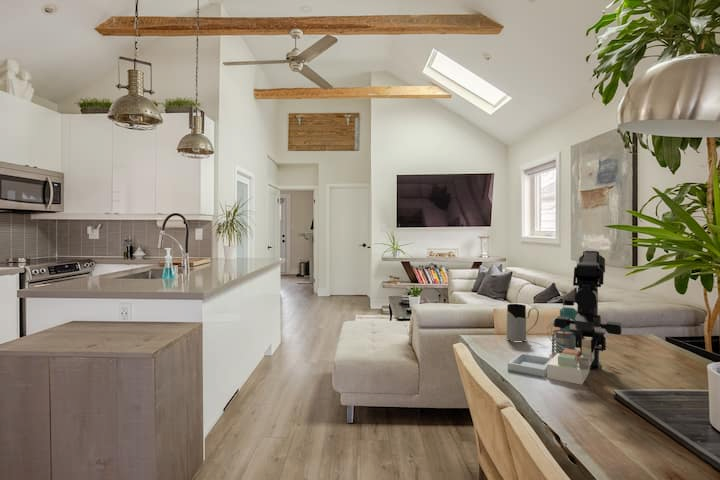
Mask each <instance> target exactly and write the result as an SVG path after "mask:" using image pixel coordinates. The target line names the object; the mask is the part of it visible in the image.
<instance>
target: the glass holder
mask: <svg viewBox="0 0 720 480" xmlns="http://www.w3.org/2000/svg"><path fill="white" fill-rule="evenodd" d="M506 307H507V311H506V337H505V339H506V338H507V339H508V340H512V341H525V340H527V341H528V339H527V334H528V332H530V330H532V329H533V328H534V327H535V326H536V325H537V323H538V321H539V314H540V313H539V310H538V309H537V308H536V307H532V308H530V309H529V310H528V312H526V311H527V310H526V309H527V307H526V305H525V304H520V303H508V304H507V306H506ZM532 310H536V313H537V314H536V315H537V316H536V320H535V322H534V323H533V325H532V326H531V327H529V328H528V330H527V319H529V318H530V316H531V315H530V314H531V311H532ZM526 313H527V314H528V315H526ZM508 340H507V341H508Z"/></svg>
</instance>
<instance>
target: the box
mask: <svg viewBox="0 0 720 480" xmlns="http://www.w3.org/2000/svg"><path fill="white" fill-rule="evenodd" d="M552 359H553V358H550V357H549V356H548V357H547V356H543V355H542V356H541V355H536V354H530V353H523V352H520V353H518V354H517V355H516V356H514V357H513V358H512V359H511V360H510V361H508V362H507V371H509V372H514V373H519V374H524V375H530V376H535V377H539V378H545V377H547V364H548V363H549V362H550V361H551V360H552Z"/></svg>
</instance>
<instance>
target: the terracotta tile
mask: <svg viewBox="0 0 720 480" xmlns="http://www.w3.org/2000/svg"><path fill="white" fill-rule="evenodd" d="M563 349H564V350H563V351H562V354H569V355H575V356H576V361H578V360H579V358H580V349H579V350H578V349H575V350H572V349H567V348H563Z"/></svg>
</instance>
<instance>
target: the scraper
mask: <svg viewBox="0 0 720 480" xmlns="http://www.w3.org/2000/svg"><path fill="white" fill-rule="evenodd" d="M591 346H592V338H591V337H583V338H582V355H581V357H580V358H579V368H580V369H586V370H588V369H589V368H590V366H591V364H592V362H593V360H594V351H593V353H591ZM590 369H591V368H590Z"/></svg>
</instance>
